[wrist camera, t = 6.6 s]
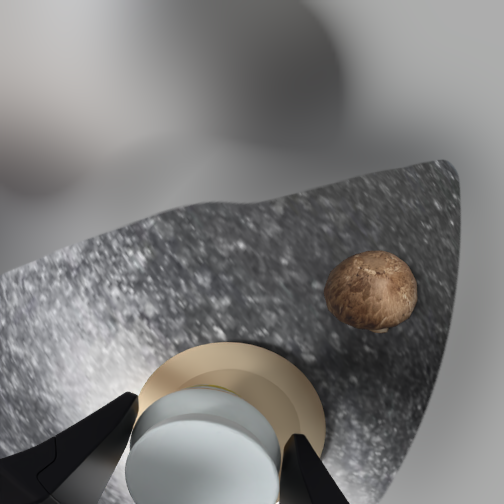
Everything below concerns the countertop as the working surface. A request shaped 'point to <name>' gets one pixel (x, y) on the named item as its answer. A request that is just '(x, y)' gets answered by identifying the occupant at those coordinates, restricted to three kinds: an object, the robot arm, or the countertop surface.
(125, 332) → the countertop surface
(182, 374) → the plate
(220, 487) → the supplement bottle
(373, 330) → the mushroom
